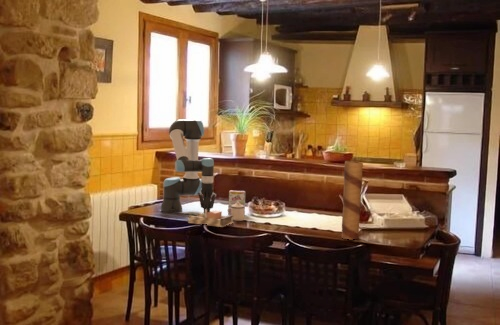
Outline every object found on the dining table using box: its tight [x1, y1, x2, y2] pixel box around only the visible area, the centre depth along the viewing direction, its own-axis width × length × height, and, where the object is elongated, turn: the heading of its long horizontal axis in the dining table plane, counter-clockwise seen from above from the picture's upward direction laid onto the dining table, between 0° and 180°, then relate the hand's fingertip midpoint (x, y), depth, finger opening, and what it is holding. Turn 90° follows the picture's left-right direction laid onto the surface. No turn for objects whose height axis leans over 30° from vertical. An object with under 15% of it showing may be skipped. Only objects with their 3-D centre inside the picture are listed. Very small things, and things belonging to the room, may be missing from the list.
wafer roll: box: [341, 160, 364, 241], centre depth 331 cm, size 10×11×45 cm
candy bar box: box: [227, 189, 246, 216], centre depth 397 cm, size 11×5×16 cm, turn 84°
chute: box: [187, 212, 234, 228], centre depth 366 cm, size 25×14×5 cm, turn 64°
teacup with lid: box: [227, 202, 245, 222], centre depth 381 cm, size 12×9×12 cm
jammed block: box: [207, 210, 223, 219], centre depth 365 cm, size 6×8×6 cm
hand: (206, 219), depth 367 cm, fingers closed
